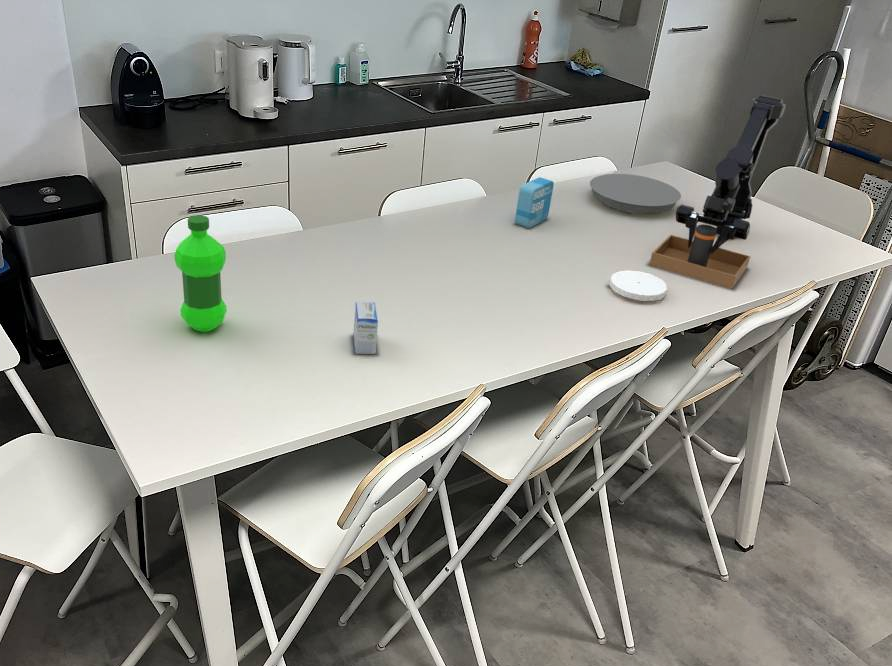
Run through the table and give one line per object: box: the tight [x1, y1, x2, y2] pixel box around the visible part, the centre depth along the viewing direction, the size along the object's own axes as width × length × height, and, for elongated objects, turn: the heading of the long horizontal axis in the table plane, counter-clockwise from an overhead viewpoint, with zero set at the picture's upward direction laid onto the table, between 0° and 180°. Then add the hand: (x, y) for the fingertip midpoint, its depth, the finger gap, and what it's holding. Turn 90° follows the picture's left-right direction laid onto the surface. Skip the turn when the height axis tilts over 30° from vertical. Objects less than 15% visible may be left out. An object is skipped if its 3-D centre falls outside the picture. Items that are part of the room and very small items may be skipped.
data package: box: [514, 176, 555, 229], centre depth 247 cm, size 12×4×12 cm, turn 141°
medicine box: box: [352, 301, 379, 355], centre depth 182 cm, size 8×4×9 cm, turn 5°
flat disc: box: [589, 173, 682, 214], centre depth 268 cm, size 28×28×4 cm
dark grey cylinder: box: [687, 224, 717, 267], centre depth 225 cm, size 5×5×12 cm
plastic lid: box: [608, 269, 668, 302], centre depth 215 cm, size 14×14×2 cm
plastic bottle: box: [174, 214, 227, 333], centre depth 181 cm, size 10×10×25 cm
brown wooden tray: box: [649, 234, 751, 290], centre depth 229 cm, size 16×22×4 cm
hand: (699, 250), depth 224 cm, fingers open, 6 cm apart
